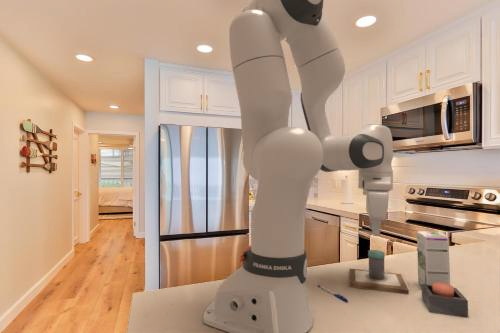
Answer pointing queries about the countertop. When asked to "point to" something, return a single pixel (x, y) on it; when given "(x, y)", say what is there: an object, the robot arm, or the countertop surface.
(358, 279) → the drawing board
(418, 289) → the countertop surface
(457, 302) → the button housing
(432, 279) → the syrup box
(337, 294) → the ballpoint pen
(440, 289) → the button
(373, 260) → the grey and teal cylinder
